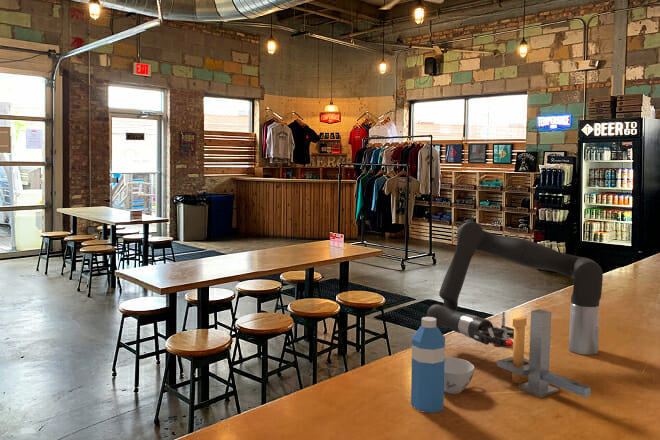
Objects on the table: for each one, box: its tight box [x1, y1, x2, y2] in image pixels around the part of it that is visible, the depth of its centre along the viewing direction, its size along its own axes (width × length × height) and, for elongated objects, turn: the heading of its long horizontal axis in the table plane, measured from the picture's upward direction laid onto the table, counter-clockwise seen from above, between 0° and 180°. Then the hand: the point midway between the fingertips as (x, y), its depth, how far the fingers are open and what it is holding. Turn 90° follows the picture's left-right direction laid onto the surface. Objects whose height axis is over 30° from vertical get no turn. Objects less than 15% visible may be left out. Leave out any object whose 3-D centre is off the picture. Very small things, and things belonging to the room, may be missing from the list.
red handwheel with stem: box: [492, 311, 514, 348], centre depth 207 cm, size 8×13×9 cm
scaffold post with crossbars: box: [496, 308, 592, 398], centre depth 162 cm, size 28×9×24 cm, turn 31°
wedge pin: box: [511, 316, 528, 384], centre depth 171 cm, size 4×3×20 cm
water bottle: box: [410, 316, 446, 414], centre depth 153 cm, size 9×9×25 cm
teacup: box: [444, 356, 475, 395], centre depth 166 cm, size 15×12×8 cm
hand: (514, 341), depth 172 cm, fingers open, 8 cm apart
